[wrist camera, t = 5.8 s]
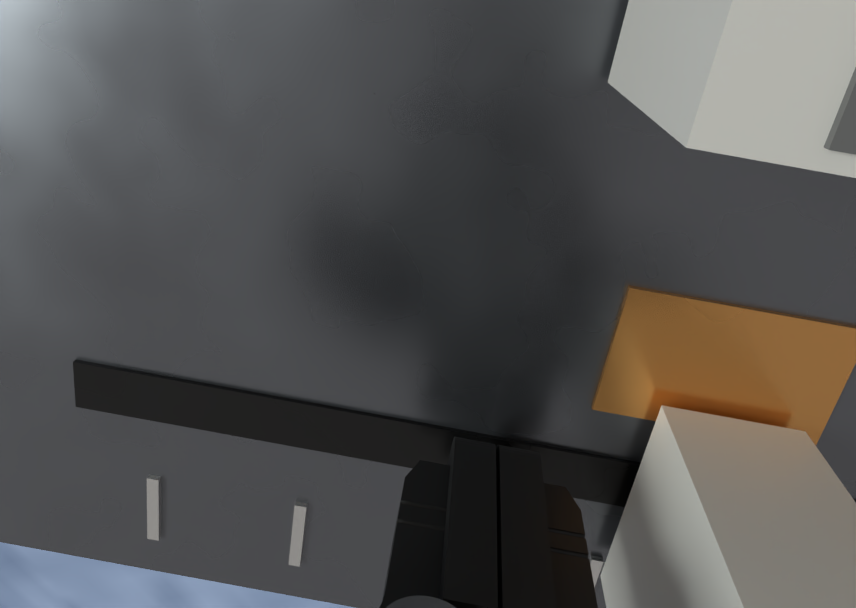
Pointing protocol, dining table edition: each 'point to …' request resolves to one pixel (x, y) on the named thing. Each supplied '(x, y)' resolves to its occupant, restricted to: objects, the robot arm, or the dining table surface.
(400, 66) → the console
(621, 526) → the fader
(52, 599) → the dining table surface
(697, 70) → the fader
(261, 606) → the dining table surface
